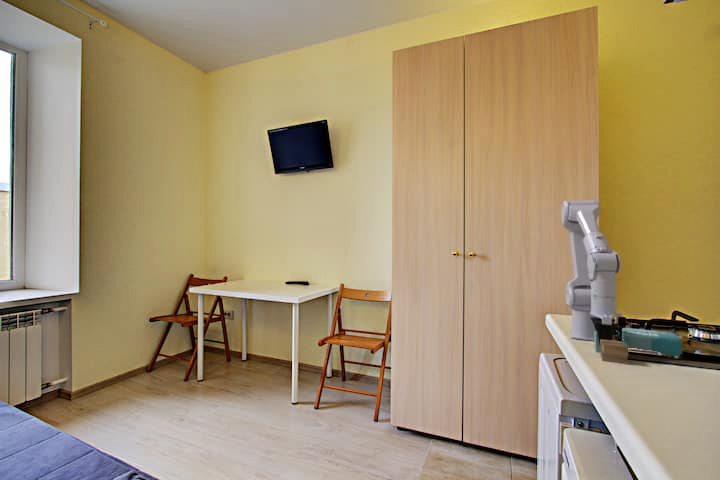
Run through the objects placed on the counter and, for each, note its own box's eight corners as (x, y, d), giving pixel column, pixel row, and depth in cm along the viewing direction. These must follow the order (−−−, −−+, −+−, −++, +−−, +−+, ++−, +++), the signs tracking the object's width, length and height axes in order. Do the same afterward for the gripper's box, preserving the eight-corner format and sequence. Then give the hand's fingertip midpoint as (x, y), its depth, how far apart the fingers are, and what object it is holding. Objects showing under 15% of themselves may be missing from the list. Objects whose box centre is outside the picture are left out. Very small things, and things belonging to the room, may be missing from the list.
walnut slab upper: (600, 348, 92) (600, 339, 92) (623, 350, 90) (623, 341, 90) (603, 353, 88) (603, 344, 88) (628, 356, 86) (628, 346, 86)
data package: (623, 335, 95) (621, 327, 105) (623, 352, 95) (622, 342, 105) (683, 342, 88) (675, 332, 98) (683, 360, 88) (675, 349, 98)
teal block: (594, 348, 99) (594, 330, 99) (611, 350, 97) (611, 332, 97) (596, 352, 95) (595, 333, 95) (614, 354, 93) (613, 335, 94)
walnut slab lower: (600, 356, 92) (600, 348, 92) (624, 360, 90) (624, 351, 90) (602, 362, 88) (602, 353, 88) (627, 365, 86) (627, 356, 86)
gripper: (626, 301, 88) (626, 355, 88) (617, 294, 101) (617, 341, 101) (592, 298, 92) (593, 351, 91) (587, 292, 104) (588, 338, 104)
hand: (603, 346), depth 96 cm, fingers closed on teal block, 4 cm apart
